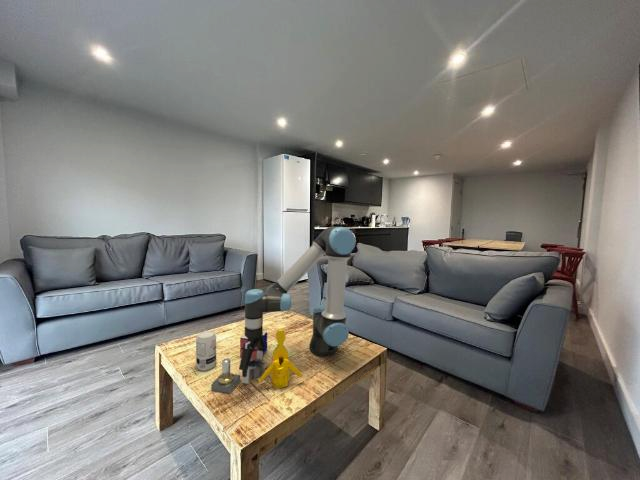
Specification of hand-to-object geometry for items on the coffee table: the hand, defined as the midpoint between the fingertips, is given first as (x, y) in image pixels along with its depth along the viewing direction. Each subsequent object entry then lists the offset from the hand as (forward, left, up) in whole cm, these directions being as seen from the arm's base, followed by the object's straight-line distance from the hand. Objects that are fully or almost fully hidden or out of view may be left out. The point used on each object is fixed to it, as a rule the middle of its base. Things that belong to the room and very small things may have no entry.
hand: (253, 373), depth 110 cm
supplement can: (+23, 0, 0) cm, 23 cm away
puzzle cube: (+7, -15, 0) cm, 17 cm away
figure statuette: (-14, +3, 0) cm, 14 cm away
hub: (0, 0, 0) cm, 0 cm away
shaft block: (+7, +10, 0) cm, 12 cm away
